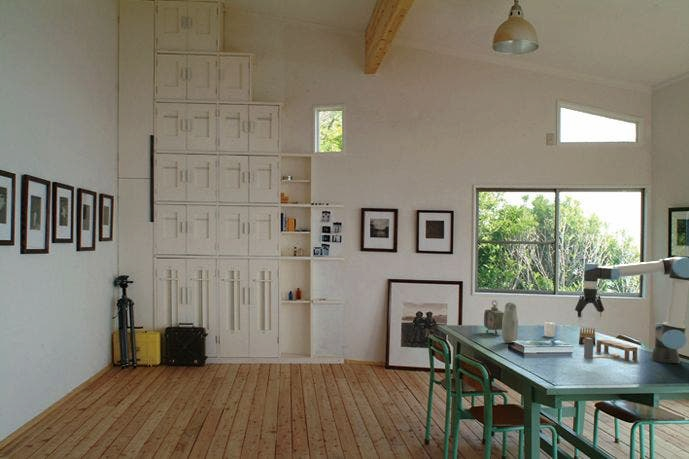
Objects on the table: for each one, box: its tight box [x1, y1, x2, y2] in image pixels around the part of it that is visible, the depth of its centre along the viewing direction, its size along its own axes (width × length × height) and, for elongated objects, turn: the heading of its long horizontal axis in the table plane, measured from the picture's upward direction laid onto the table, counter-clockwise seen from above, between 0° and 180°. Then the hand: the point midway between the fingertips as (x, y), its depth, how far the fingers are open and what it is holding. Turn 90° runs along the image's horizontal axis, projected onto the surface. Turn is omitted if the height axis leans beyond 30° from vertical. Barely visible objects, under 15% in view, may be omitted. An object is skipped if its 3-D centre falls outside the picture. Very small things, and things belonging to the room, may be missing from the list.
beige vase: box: [501, 302, 519, 344], centre depth 355 cm, size 10×10×28 cm
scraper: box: [583, 338, 614, 360], centre depth 321 cm, size 18×6×12 cm, turn 108°
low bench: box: [595, 339, 638, 362], centre depth 325 cm, size 24×8×8 cm, turn 18°
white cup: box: [543, 321, 557, 338], centre depth 387 cm, size 8×8×10 cm
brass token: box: [611, 353, 621, 358], centre depth 325 cm, size 4×4×1 cm
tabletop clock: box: [483, 300, 504, 336], centre depth 390 cm, size 14×9×25 cm, turn 17°
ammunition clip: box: [578, 326, 596, 346], centre depth 360 cm, size 11×2×12 cm, turn 87°
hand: (589, 322), depth 319 cm, fingers open, 13 cm apart
